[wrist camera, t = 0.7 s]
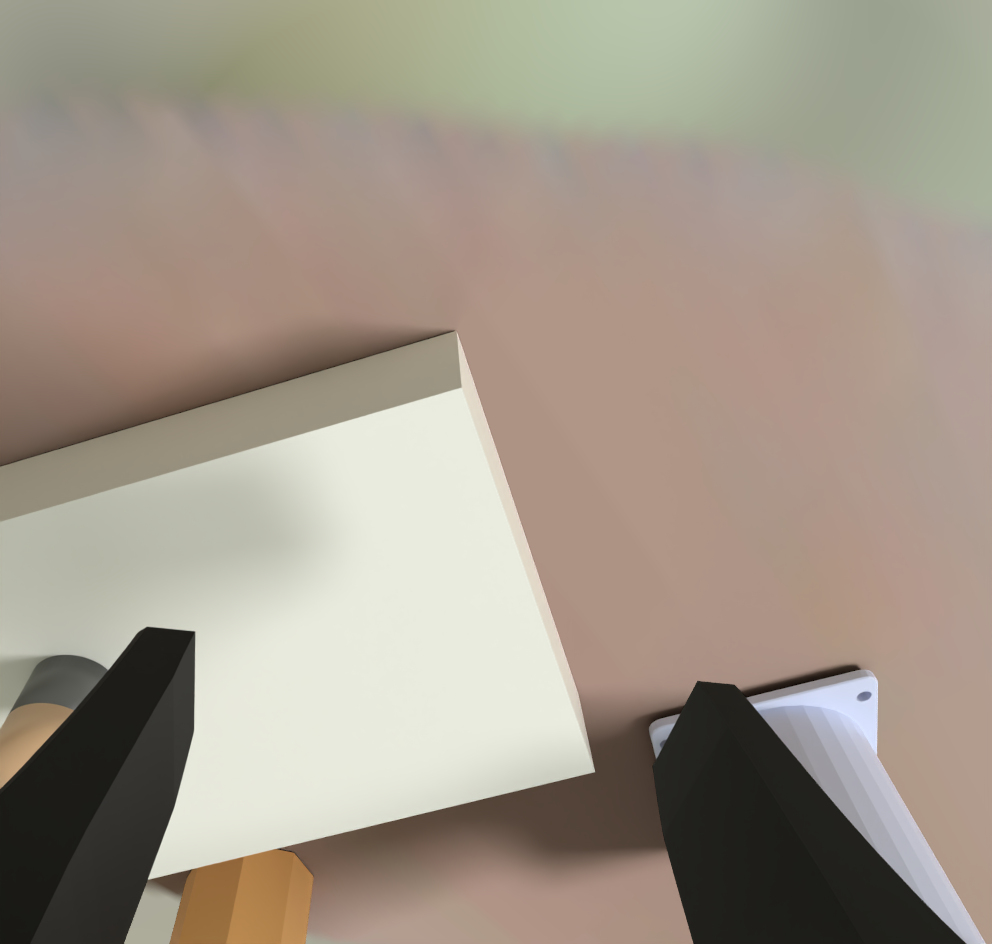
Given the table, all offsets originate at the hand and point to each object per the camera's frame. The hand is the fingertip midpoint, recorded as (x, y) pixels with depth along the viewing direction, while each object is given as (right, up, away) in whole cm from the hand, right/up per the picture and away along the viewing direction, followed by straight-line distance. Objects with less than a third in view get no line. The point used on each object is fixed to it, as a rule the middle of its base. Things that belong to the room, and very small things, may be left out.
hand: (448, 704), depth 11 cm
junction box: (-7, -1, +12) cm, 14 cm away
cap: (-9, -13, +19) cm, 25 cm away
